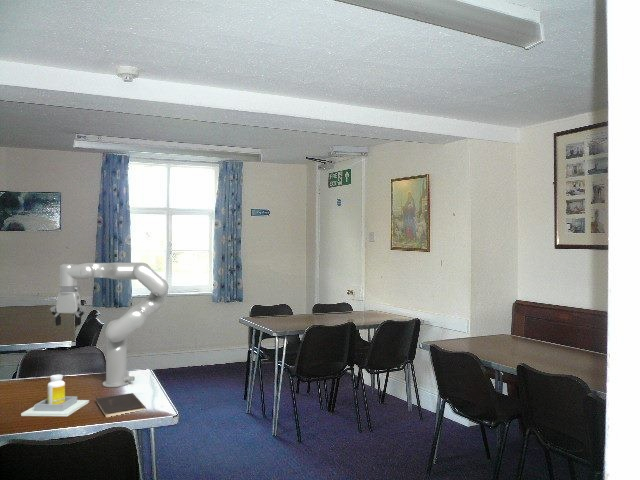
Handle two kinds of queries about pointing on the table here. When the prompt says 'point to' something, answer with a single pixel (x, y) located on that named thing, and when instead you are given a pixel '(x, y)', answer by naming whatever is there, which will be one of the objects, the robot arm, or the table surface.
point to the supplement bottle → (56, 390)
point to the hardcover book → (119, 404)
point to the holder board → (56, 407)
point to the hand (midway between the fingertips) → (68, 325)
